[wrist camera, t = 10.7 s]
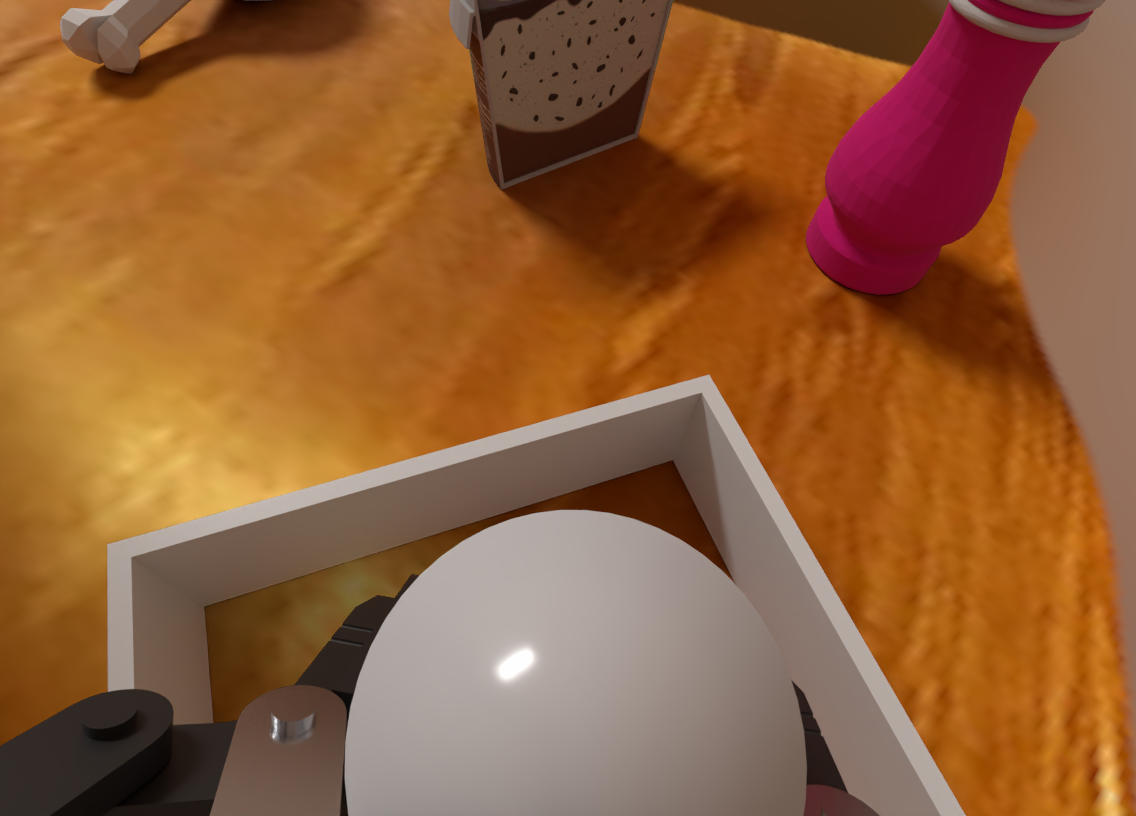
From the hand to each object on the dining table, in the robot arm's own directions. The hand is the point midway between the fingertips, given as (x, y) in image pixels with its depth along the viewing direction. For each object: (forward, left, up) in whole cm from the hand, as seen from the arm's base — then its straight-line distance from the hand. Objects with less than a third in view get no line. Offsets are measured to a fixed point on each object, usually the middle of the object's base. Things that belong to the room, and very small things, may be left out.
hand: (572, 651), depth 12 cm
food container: (+10, +30, -11) cm, 33 cm away
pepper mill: (+23, +16, -11) cm, 30 cm away
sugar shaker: (-1, -2, -4) cm, 5 cm away
